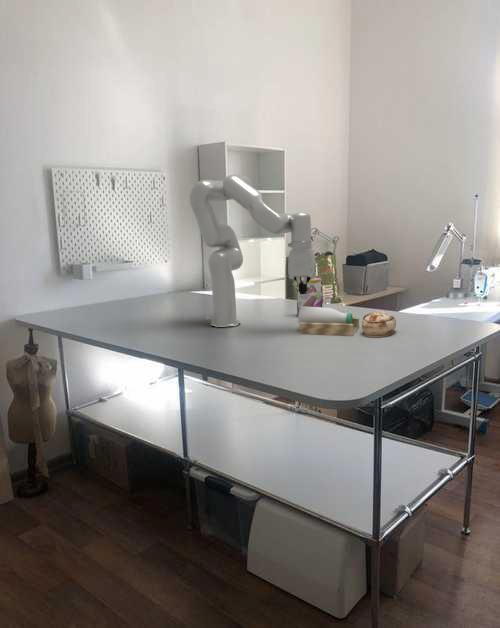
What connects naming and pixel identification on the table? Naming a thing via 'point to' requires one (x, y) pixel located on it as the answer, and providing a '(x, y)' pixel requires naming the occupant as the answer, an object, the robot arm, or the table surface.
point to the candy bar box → (310, 294)
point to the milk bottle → (323, 315)
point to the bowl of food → (378, 324)
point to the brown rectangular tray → (330, 328)
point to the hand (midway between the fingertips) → (303, 293)
